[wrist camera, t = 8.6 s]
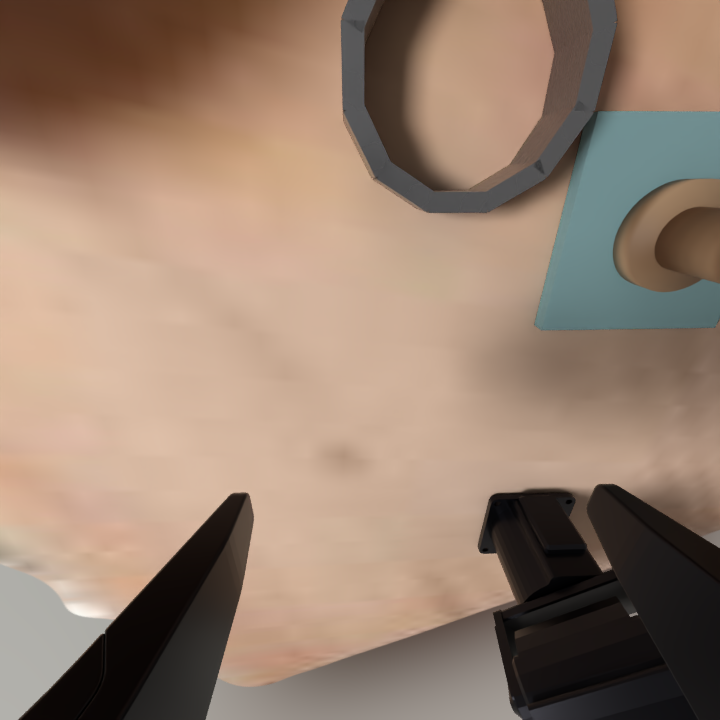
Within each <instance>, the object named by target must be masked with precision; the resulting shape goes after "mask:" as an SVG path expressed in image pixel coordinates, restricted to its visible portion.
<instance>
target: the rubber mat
mask: <svg viewBox="0 0 720 720" xmlns="http://www.w3.org/2000/svg"><path fill="white" fill-rule="evenodd" d="M680 179H720V112H669V111H598V112H594V113H593V115H592V116H591V118H590V119H589V120H588V122H587V123H586V124H585V126H584V128H583V132H582V136H581V140H580V144H579V148H578V152H577V156H576V160H575V164H574V168H573V172H572V176H571V180H570V184H569V188H568V192H567V196H566V200H565V204H564V208H563V212H562V216H561V220H560V224H559V228H558V232H557V236H556V240H555V244H554V248H553V252H552V256H551V260H550V264H549V268H548V272H547V276H546V280H545V284H544V288H543V292H542V296H541V300H540V304H539V308H538V312H537V316H536V320H535V324H534V325H535V326H536V327H537V328H539V329H540V330H598V329H664V328H715V327H716V325H717V323H718V321H719V319H720V284H719V283H716V282H712V281H708V280H705V279H702V280H700V281H699V282H697V283H695V284H693V285H691V286H689V287H686V288H684V289H681V290H677V291H672V292H656V291H651V290H649V289H646V288H643V287H640V286H637V285H635V284H632V283H629V282H628V281H626V280H624V279H623V278H622V277H621V276H620V275H619V273H618V272H617V270H616V268H615V265H614V261H613V245H614V240H615V237H616V234H617V231H618V229H619V227H620V225H621V223H622V221H623V220H624V218H625V217H626V215H627V214H628V212H629V211H630V210H631V209H632V207H633V206H634V205H635V204H636V203H637V202H638V201H639V200H640V199H642V198H643V197H644V196H645V195H646V194H648V193H649V192H651V191H652V190H654V189H655V188H657V187H659V186H661V185H663V184H665V183H668V182H671V181H675V180H680Z"/></svg>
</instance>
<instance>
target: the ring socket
mask: <svg viewBox="0 0 720 720" xmlns="http://www.w3.org/2000/svg"><path fill="white" fill-rule="evenodd" d="M542 2H543V6H544V10H545V14H546V19H547V23H548V27H549V31H550V36H551V40H552V44H553V48H554V53H555V54H554V59H553V64H552V69H551V74H550V79H549V84H548V89H547V94H546V99H545V104H544V109H543V114H542V117H541V119H540V120H539V122H538V123H537V125H536V126H535V128H534V129H533V131H532V132H531V134H530V135H529V137H528V138H527V140H526V141H525V143H524V144H523V146H522V147H521V149H520V150H519V152H518V153H517V155H516V156H515V158H514V159H513V161H512V162H511V164H510V165H508V166H507V167H505V168H503V169H502V170H500V171H498V172H497V173H495V174H493V175H492V176H490V177H489V178H487V179H485V180H484V181H482V182H480V183H479V184H477V185H475V186H474V187H472V188H470V189H469V190H431V189H430V188H428V187H427V186H425V185H424V184H423V183H421V182H420V181H418V180H417V179H415V178H414V177H412V176H411V175H409V174H408V173H406V172H405V171H403V170H402V169H401V168H399V167H398V166H396V165H395V164H393V163H392V162H391V161H390V159H389V157H388V154H387V152H386V150H385V148H384V146H383V144H382V142H381V139H380V137H379V135H378V133H377V131H376V129H375V126H374V124H373V122H372V120H371V118H370V116H369V114H368V111H367V109H366V107H365V105H364V45H365V43H366V41H367V39H368V36H369V34H370V32H371V30H372V27H373V25H374V23H375V21H376V18H377V16H378V14H379V12H380V9H381V7H382V5H383V3H384V0H348V2H347V5H346V7H345V10H344V12H343V15H342V17H341V48H342V96H343V121H344V124H345V126H346V128H347V130H348V132H349V134H350V136H351V138H352V140H353V142H354V144H355V146H356V148H357V150H358V152H359V154H360V156H361V158H362V160H363V162H364V164H365V166H366V168H367V170H368V172H369V174H370V176H371V178H373V180H374V181H376V182H377V183H379V184H380V185H382V186H383V187H385V188H386V189H388V190H389V191H391V192H392V193H394V194H395V195H397V196H398V197H400V198H401V199H403V200H405V201H406V202H408V203H409V204H411V205H412V206H414V207H415V208H417V209H419V210H422V211H425V212H428V213H487V212H490V211H491V210H493V209H495V208H496V207H498V206H500V205H502V204H503V203H505V202H507V201H508V200H510V199H512V198H514V197H515V196H517V195H519V194H521V193H522V192H524V191H526V190H527V189H529V188H531V187H533V186H534V185H536V184H538V183H539V182H541V181H543V180H545V179H546V178H545V177H548V176H549V174H550V173H551V172H552V170H553V169H554V167H555V166H556V165H557V163H558V162H559V161H560V159H561V158H562V156H563V155H564V154H565V152H566V151H567V149H568V148H569V147H570V145H571V144H572V143H573V141H574V140H575V138H576V137H577V136H578V134H579V133H580V131H581V130H582V129H583V127H584V126H585V124H586V123H587V122H588V120H589V119H590V118H591V116H592V115H593V111H595V108H596V104H597V100H598V96H599V92H600V88H601V85H602V81H603V77H604V73H605V69H606V65H607V61H608V57H609V53H610V50H611V46H612V42H613V38H614V34H615V30H616V26H617V23H614V22H616V21H617V14H616V8H615V2H614V0H542Z"/></svg>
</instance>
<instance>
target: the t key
mask: <svg viewBox="0 0 720 720" xmlns="http://www.w3.org/2000/svg"><path fill="white" fill-rule="evenodd" d="M613 261H614V265H615V268H616V270H617V272H618V273H619V275H620V276H621V277H622V278H623V279H624V280H626V281H628V282H629V283H632V284H635V285H637V286H640V287H643V288H646V289H649V290H651V291H656V292H672V291H677V290H681V289H684V288H686V287H689V286H691V285H693V284H695V283H697V282H699V281H700V280H702V279H705V280H708V281H712V282H716V283H719V284H720V179H680V180H675V181H671V182H668V183H665V184H663V185H661V186H659V187H657V188H655V189H654V190H652V191H651V192H649V193H648V194H646V195H645V196H644V197H643V198H642V199H640V200H639V201H638V202H637V203H636V204H635V205H634V206H633V207H632V209H631V210H630V211H629V212H628V214H627V215H626V217H625V218H624V220H623V221H622V223H621V225H620V227H619V229H618V231H617V234H616V237H615V240H614V245H613Z"/></svg>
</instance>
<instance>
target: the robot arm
mask: <svg viewBox="0 0 720 720" xmlns="http://www.w3.org/2000/svg"><path fill="white" fill-rule="evenodd" d="M574 504H575V498H574V497H573V495H572V494H570V493H551V494H516V495H494V496H492V497H491V498H490V499H489V502H488V506H487V510H486V514H485V518H484V522H483V526H482V530H481V534H480V538H479V542H478V549H479V552H480V553H483V554H489V553H497V555H498V557H499V560H500V562H501V565H502V567H503V570H504V572H505V575H506V577H507V580H508V582H509V585H510V587H511V590H512V592H513V595H514V597H515V600H516V602H517V605H516V606H513V607H511V608H508V609H505V610H503V611H501V610H499V611H496V612H493V615H494V619H495V624H496V626H495V630H496V634H497V639H498V643H499V648H500V652H501V656H502V661H503V665H504V669H505V674H506V678H507V682H508V690H509V699H510V704H511V706H512V709H513V711H514V712H515V713H516V714H517V715H518V716H520V717H521V718H522V719H523V720H720V548H718V547H717V546H715V545H714V544H712V543H710V542H709V541H707V540H705V539H704V538H702V537H700V536H699V535H697V534H696V533H694V532H692V531H691V530H689V529H687V528H686V527H684V526H683V525H681V524H679V523H678V522H676V521H674V520H673V519H671V518H669V517H668V516H666V515H665V514H663V513H661V512H660V511H658V510H656V509H655V508H653V507H652V506H650V505H648V504H647V503H645V502H643V501H642V500H640V499H638V498H637V497H635V496H634V495H632V494H630V493H629V492H627V491H625V490H624V489H622V488H621V487H619V486H617V485H614V484H599V485H597V486H596V487H595V488H594V491H593V493H592V495H591V497H590V500H589V502H588V504H587V513H588V516H589V518H590V520H591V523H592V525H593V527H594V529H595V531H596V533H597V536H598V538H599V540H600V542H601V544H602V546H603V549H604V551H605V553H606V555H607V557H608V559H609V562H610V564H611V566H612V570H610V571H607V572H604V573H603V572H602V570H601V569H600V567H599V566H598V564H597V563H596V561H595V560H594V558H593V557H592V555H591V554H590V552H589V551H588V549H587V544H586V543H585V541H584V540H583V538H582V537H581V535H580V534H579V532H578V531H577V529H576V528H575V526H574V525H573V523H572V522H571V520H570V519H569V516H570V513H571V511H572V509H573V506H574ZM253 521H254V514H253V509H252V504H251V500H250V496H249V494H248V493H232V494H231V495H230V496H229V497H228V498H227V499H226V500H225V501H224V502H223V503H222V504H221V505H220V506H219V507H218V508H217V510H216V511H215V512H214V513H213V514H212V515H211V516H210V517H209V518H208V519H207V520H206V521H205V523H204V524H203V525H202V526H201V527H200V528H199V529H198V530H197V531H196V532H195V533H194V534H193V536H192V537H191V538H190V539H189V540H188V541H187V542H186V543H185V544H184V545H183V546H182V547H181V549H180V550H179V551H178V552H177V553H176V554H175V555H174V556H173V557H172V558H171V559H170V560H169V562H168V563H167V564H166V565H165V566H164V567H163V568H162V569H161V570H160V571H159V572H158V573H157V575H156V576H155V577H154V578H153V579H152V580H151V581H150V582H149V583H148V584H147V585H146V586H145V588H144V589H143V590H142V591H141V592H140V593H139V594H138V595H137V596H136V597H135V598H134V599H133V601H132V602H131V603H130V604H129V605H128V606H127V607H126V608H125V609H124V610H123V611H122V612H121V614H120V615H119V616H118V617H117V618H116V619H115V620H114V621H113V622H112V623H111V624H110V625H109V627H108V628H107V629H106V630H105V634H101V635H100V636H99V637H98V638H97V639H96V640H95V641H94V643H93V644H92V645H91V646H90V647H89V648H88V649H87V650H86V651H85V652H84V653H83V654H82V656H81V657H80V658H79V659H78V660H77V661H76V662H75V663H74V664H73V665H72V666H71V667H70V668H69V669H68V670H67V671H66V672H65V673H64V674H63V675H62V676H61V678H60V679H59V680H58V681H57V682H56V683H55V684H54V685H53V686H52V687H51V688H50V689H49V690H48V691H47V692H46V693H45V694H44V695H43V696H42V697H41V698H40V699H39V700H38V701H37V702H36V703H35V704H34V705H33V706H32V707H31V708H30V709H29V710H28V711H26V712H25V713H24V715H22V716H21V717H20V718H19V720H205V719H206V716H207V712H208V709H209V705H210V702H211V698H212V695H213V691H214V687H215V684H216V680H217V677H218V673H219V669H220V666H221V662H222V659H223V655H224V652H225V648H226V644H227V641H228V637H229V634H230V630H231V627H232V623H233V619H234V616H235V612H236V609H237V605H238V602H239V598H240V594H241V590H242V585H243V580H244V575H245V569H246V563H247V557H248V551H249V546H250V540H251V534H252V528H253ZM635 612H637V613H638V616H637V615H636V616H633V617H630V616H629V614H632V613H635Z"/></svg>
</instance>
